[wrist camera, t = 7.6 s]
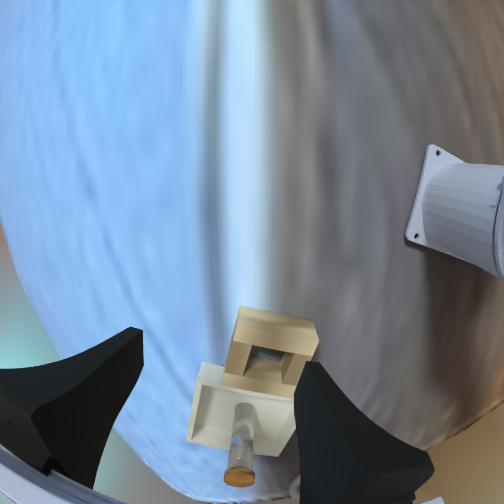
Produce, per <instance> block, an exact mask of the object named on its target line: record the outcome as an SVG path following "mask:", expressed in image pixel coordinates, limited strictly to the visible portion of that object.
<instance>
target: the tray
mask: <svg viewBox="0 0 504 504" xmlns="http://www.w3.org/2000/svg"><path fill="white" fill-rule="evenodd" d="M223 373H224V366H219V365H215V364H211V363H207V362H203V361H202V364H201V368H200V371H199V375H198V378H197V383H196V388H195V394H194V399H193V404H192V410H191V416H190V421H189V427H188V433H187V439H186V441H190V442H194V443H198V444H202V445H207V446H211V447H216V448H221V449H226V450H230V444H231V435H232V426H233V418H234V409H235V406H236V405H237V404H239V403H242V402H246V403H250V404H252V405H253V406H254V407H255V420H254V446H253V454H258V455H267V456H276V457H278V456H279V455H280V453H281V452H282V450H283V448H284V447H285V445H286V444H287V442H288V441H289V439H290V437H291V436H292V434H293V433H294V431H295V429H296V424H295V417H294V397H293V398H291V397H284V396H278V395H271V394H265V393H260V392H254V391H249V390H244V389H239V388H234V387H229V386H225V385H221V383H222V378H223Z"/></svg>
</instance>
